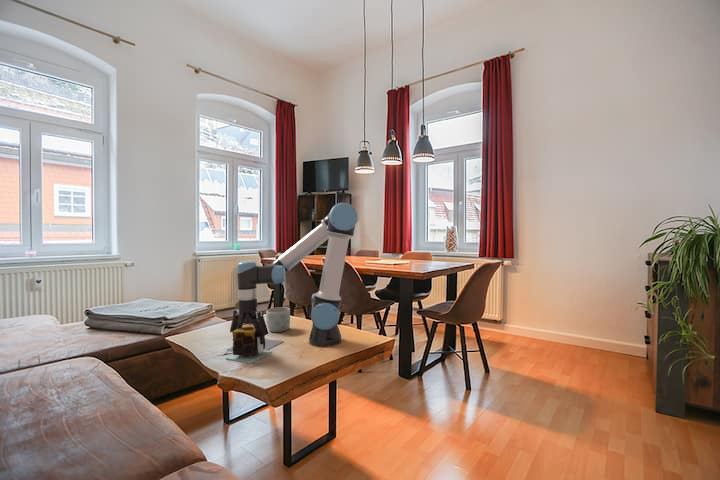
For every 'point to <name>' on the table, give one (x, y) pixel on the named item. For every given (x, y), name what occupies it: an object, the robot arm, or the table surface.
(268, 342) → the gray mat
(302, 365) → the table surface
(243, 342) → the candle
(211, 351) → the table surface
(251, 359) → the pad
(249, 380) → the table surface
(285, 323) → the planter
